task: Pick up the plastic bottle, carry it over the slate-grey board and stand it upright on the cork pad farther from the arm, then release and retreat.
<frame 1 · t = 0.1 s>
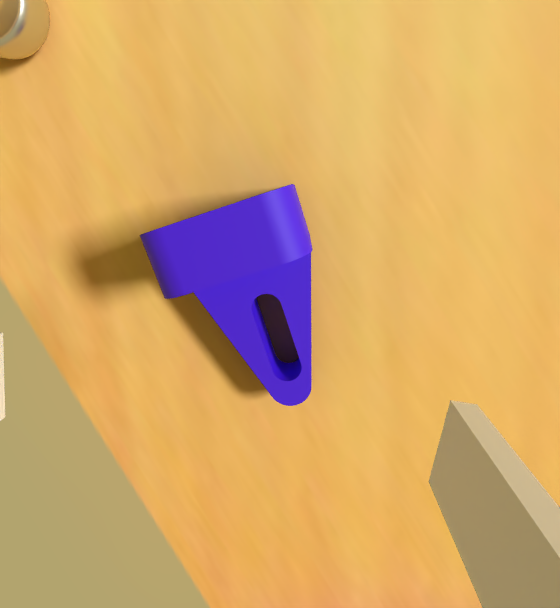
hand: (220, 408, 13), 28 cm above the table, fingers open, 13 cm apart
bracket: (267, 298, 41), on the table
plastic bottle: (23, 23, 36), on the table
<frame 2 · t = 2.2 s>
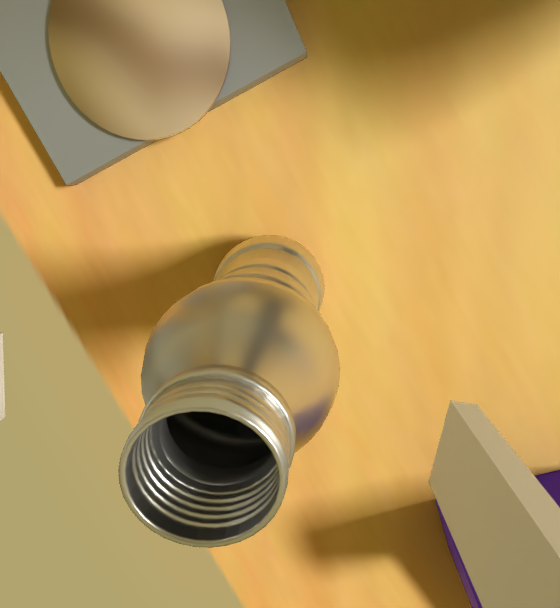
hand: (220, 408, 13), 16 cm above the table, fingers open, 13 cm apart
bracket: (531, 574, 34), on the table
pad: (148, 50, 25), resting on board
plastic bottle: (272, 279, 29), on the table
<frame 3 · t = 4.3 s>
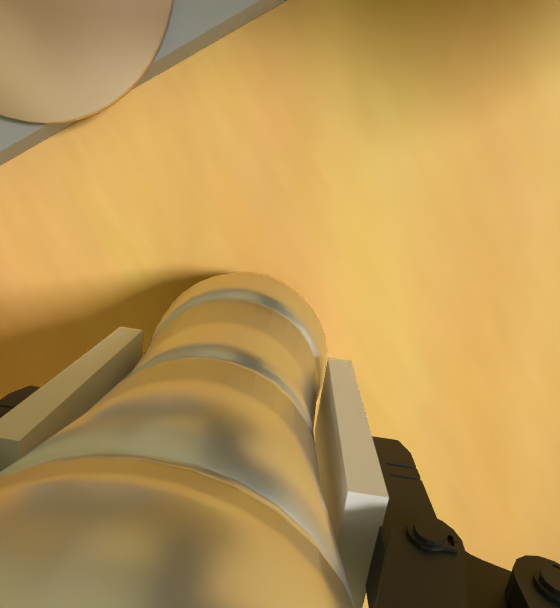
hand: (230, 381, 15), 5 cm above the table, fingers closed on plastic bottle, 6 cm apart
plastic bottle: (249, 332, 20), on the table, touching gripper
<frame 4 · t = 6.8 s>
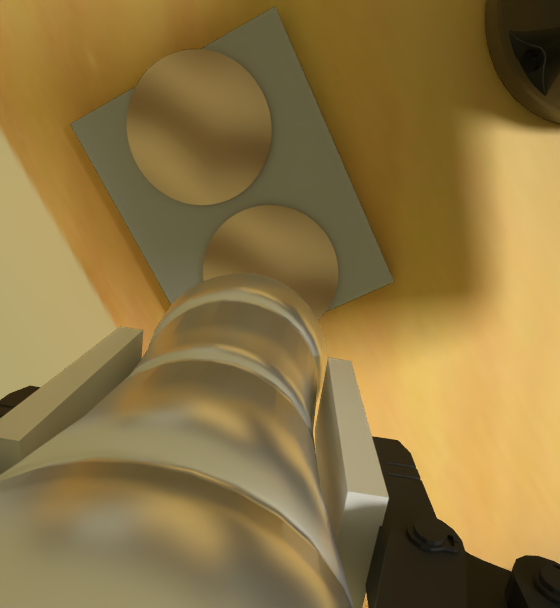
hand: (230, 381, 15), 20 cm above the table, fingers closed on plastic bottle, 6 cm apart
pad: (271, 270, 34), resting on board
board: (238, 204, 33), on the table
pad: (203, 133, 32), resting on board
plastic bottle: (248, 333, 20), point 15 cm above the table, touching gripper
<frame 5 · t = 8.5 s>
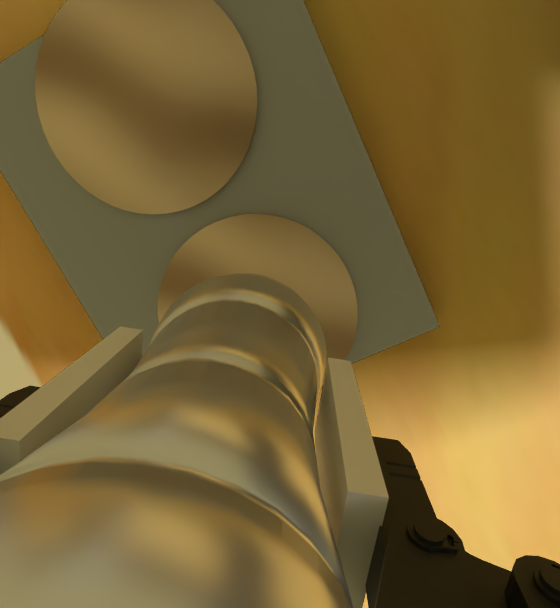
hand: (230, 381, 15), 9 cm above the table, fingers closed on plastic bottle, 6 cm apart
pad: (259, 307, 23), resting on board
board: (210, 212, 22), on the table
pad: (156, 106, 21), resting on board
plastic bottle: (248, 333, 20), point 4 cm above the table, touching gripper
when the fingers open (7 cm above the table, at t = 9.7 s): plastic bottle stays where it is, resting on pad.
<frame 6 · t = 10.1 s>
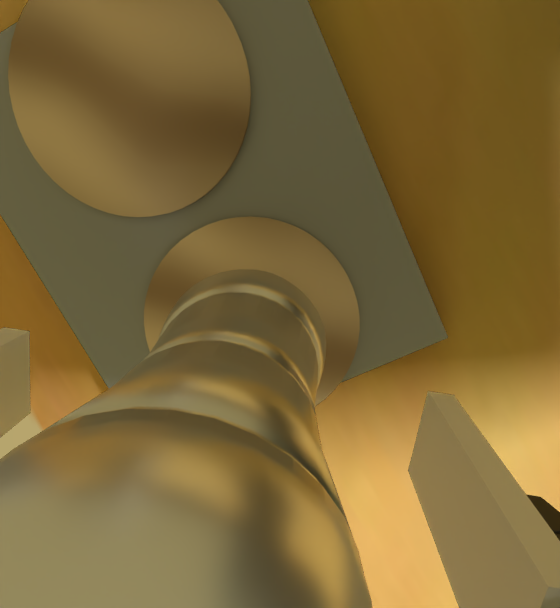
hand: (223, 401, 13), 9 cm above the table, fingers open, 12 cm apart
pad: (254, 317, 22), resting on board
board: (201, 214, 21), on the table
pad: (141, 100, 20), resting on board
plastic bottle: (251, 328, 21), point 1 cm above the table, touching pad
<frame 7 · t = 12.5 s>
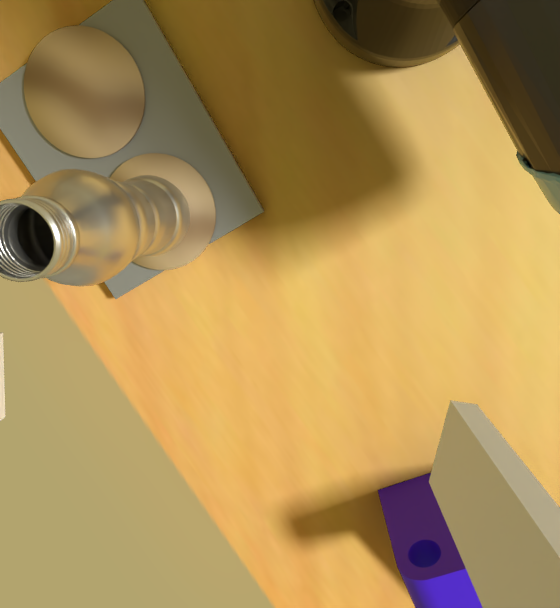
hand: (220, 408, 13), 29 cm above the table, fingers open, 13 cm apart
bracket: (453, 539, 48), on the table
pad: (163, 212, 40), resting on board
board: (129, 156, 39), on the table
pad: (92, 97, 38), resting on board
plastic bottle: (159, 214, 39), point 1 cm above the table, touching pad
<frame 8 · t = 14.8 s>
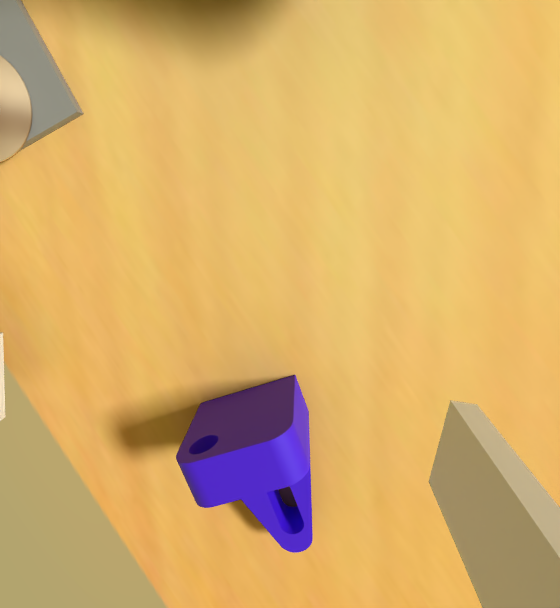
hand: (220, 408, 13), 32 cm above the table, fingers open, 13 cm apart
bracket: (275, 457, 50), on the table
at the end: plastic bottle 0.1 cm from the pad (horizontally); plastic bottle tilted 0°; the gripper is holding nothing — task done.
